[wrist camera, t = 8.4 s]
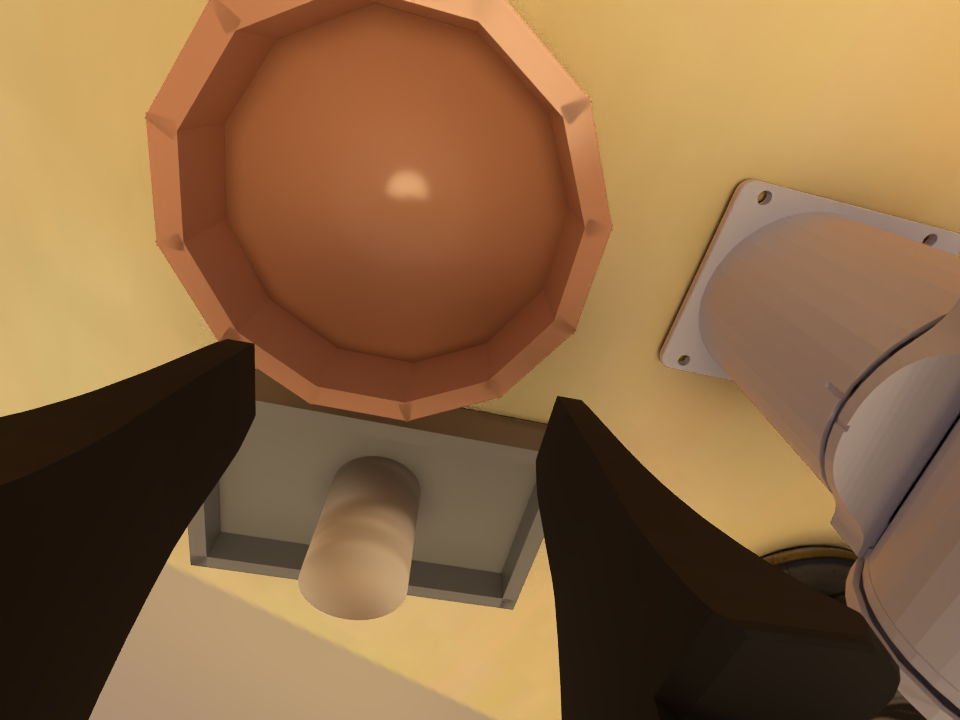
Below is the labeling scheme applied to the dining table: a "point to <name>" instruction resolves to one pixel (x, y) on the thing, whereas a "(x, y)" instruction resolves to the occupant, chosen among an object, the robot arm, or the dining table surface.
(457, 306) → the orange shallow faceted dish
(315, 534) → the taupe rounded cylinder
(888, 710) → the apothecary jar
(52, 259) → the dining table surface
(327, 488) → the charcoal tray
